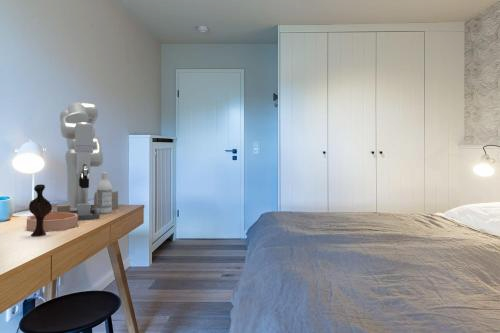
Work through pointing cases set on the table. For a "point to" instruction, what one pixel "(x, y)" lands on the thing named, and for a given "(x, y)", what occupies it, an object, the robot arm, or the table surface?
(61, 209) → the greyish beige block
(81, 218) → the tray
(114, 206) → the fossil
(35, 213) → the figurine
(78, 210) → the grey sharp-edged cuboid
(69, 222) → the bowl
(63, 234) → the table surface
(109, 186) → the bath foam
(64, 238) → the table surface
